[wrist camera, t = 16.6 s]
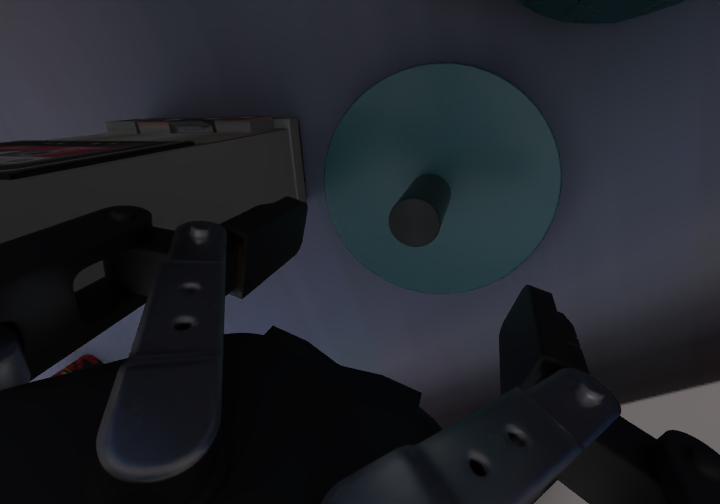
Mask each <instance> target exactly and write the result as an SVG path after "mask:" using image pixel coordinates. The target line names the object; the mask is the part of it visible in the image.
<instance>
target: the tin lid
mask: <svg viewBox="0 0 720 504" xmlns="http://www.w3.org/2000/svg"><path fill="white" fill-rule="evenodd" d="M324 188H325V197H326V202H327V206H328V211H329V214H330V217H331V219H332V222H333V225H334V227H335V229H336V231H337V233H338V235H339V236H340V238H341V239H342V241H343V243H344V244H345V246H346V247H347V248H348V249H349V251H350V252H351V253H352V254H353V255H354V257H355V258H357V259H358V260H359V261H360V262H361V263H362V264H363V265H364V266H365V267H366V268H368V269H369V270H370V271H372V272H373V273H374V274H376V275H378V276H379V277H381V278H383V279H384V280H386V281H388V282H391V283H393V284H395V285H397V286H400V287H403V288H406V289H409V290H414V291H418V292H424V293H433V294H450V293H458V292H465V291H469V290H473V289H477V288H480V287H483V286H485V285H488V284H490V283H492V282H494V281H496V280H498V279H500V278H502V277H504V276H505V275H507V274H508V273H510V272H511V271H513V270H514V269H516V268H517V267H518V266H519V265H520V264H522V263H523V262H524V261H525V260H526V259H527V258H528V257H529V256H530V255H531V254H532V253H533V251H534V250H535V249H536V248H537V247H538V245H539V244H540V242H541V241H542V239H543V238H544V237H545V235H546V233H547V231H548V229H549V227H550V225H551V223H552V221H553V219H554V216H555V213H556V210H557V207H558V203H559V197H560V191H561V163H560V156H559V151H558V148H557V144H556V141H555V138H554V135H553V133H552V131H551V129H550V127H549V125H548V123H547V121H546V119H545V118H544V116H543V115H542V113H541V112H540V110H539V109H538V107H537V106H536V105H535V104H534V103H533V102H532V101H531V100H530V99H529V98H528V97H527V95H526V94H525V93H524V92H522V91H521V90H520V89H518V88H517V87H516V86H514V85H513V84H512V83H511V82H509V81H507V80H505V79H504V78H502V77H500V76H498V75H496V74H494V73H492V72H489V71H486V70H484V69H481V68H478V67H474V66H469V65H464V64H459V63H433V64H423V65H419V66H415V67H411V68H407V69H404V70H402V71H399V72H397V73H394V74H392V75H390V76H388V77H386V78H385V79H383V80H381V81H379V82H378V83H376V84H375V85H373V86H372V87H371V88H370V89H368V90H367V91H366V92H364V93H363V94H362V95H361V96H360V97H359V98H358V99H357V100H356V101H355V102H354V103H353V104H352V105H351V107H350V108H349V110H348V111H347V112H346V114H345V115H344V116H343V118H342V119H341V121H340V123H339V125H338V127H337V128H336V130H335V132H334V135H333V137H332V140H331V142H330V145H329V149H328V153H327V157H326V163H325V171H324Z"/></svg>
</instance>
